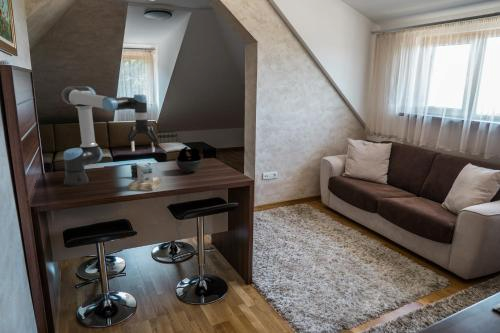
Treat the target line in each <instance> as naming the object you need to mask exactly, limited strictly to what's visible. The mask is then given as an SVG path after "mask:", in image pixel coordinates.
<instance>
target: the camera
mask: <svg viewBox="0 0 500 333" xmlns="http://www.w3.org/2000/svg"><path fill="white" fill-rule="evenodd" d="M146 164H149V165H151V166H152V164H151V163H150V162H148V163H146ZM130 170H131V171H130V172H131V178H132V179H133V178H134V179H135V178H138V174H137V164H131V165H130Z"/></svg>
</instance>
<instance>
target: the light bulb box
mask: <svg viewBox="0 0 500 333" xmlns="http://www.w3.org/2000/svg"><path fill="white" fill-rule="evenodd" d="M136 165H137V174H138V177H137V179H138V180H140V181H142V182H144V183H146V182H151V181H153V177H154V175H153V174H154V172H153V165H152V164H151V165H149V164H147V163H146V162H145V163H144V162H143V163H136Z"/></svg>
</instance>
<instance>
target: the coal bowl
mask: <svg viewBox="0 0 500 333" xmlns="http://www.w3.org/2000/svg"><path fill="white" fill-rule="evenodd" d="M187 153H189V155H190V156H188V154H187ZM202 162H203V160H202V157H201V156H200V150H198V149H197V148H189V147H188V146H185V147H184V148H183V147H182V148H181V150H180V152H179V154H178V155H177V158H176V159H175V164H176V165H177V167H178V169H179V170H180V171H182V172H185V173H191V172H194V171H197V170H198V169H199V168H200V167H201V164H202Z"/></svg>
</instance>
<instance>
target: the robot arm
mask: <svg viewBox="0 0 500 333" xmlns="http://www.w3.org/2000/svg"><path fill="white" fill-rule="evenodd" d="M61 97H62V100H63V102H65V103H66V104H68V105H74V107H75V108H76V109H77V113H78V114H77V115H78V121H79V128H80V130H79V132H80V138H81V144H80V145H79V147H73V148H68V149H66V150H64V151H63V163H64V170H65V175H64V178H63V185H64V184H65V186H67V185H70V186H69V187H74V186H75V187H77V186H82V185H85V184H88V183H89V178H88V175H87V173H86V171H85V167H86V166H89V165H95V164H96V163H98V162H100V161H101V160H102V159H103V150H102V149H101V147H99V144H98V143H96V138H95V128H94V119H93V118H94V117H93V110H92V109H93V107H94V108H98V109H99V108H100V109H104V110H105V111H108V112H113V111H121V110H122V111H123V110H134V117H135V119H134V121H135V125H132V126H131V127H130V131H129V133H128V136H127V138H126V141H127V142H129V146H130V147H131V152H132V153H133V152H135V151H136V150H135V139H136V137H137V136H138V134H140V135H141V134H142V135H143V134H144V135H146V136H147V137H148V138H149V139H150V140H151V141H152V142H151V152H152V153H155V152H156V150H155V149H156V146H157V142H159V138H158V136H157V134H156V132H155V131H154V126H149V121H148V100H147V96H146V95H145V94H134V95H133V97H130V96H129V97H127V96H122V97H111V96H110V97H109V96H106V95H105V96H104V95H99V94H97V93H96V91H95V90H94V89H93V88H92V87H90V86H84V85H82V86H72V85H71V86H66V87H65V88H64V89H63V90H62V92H61ZM135 130H136V131H135ZM134 132H135V133H134Z"/></svg>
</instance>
